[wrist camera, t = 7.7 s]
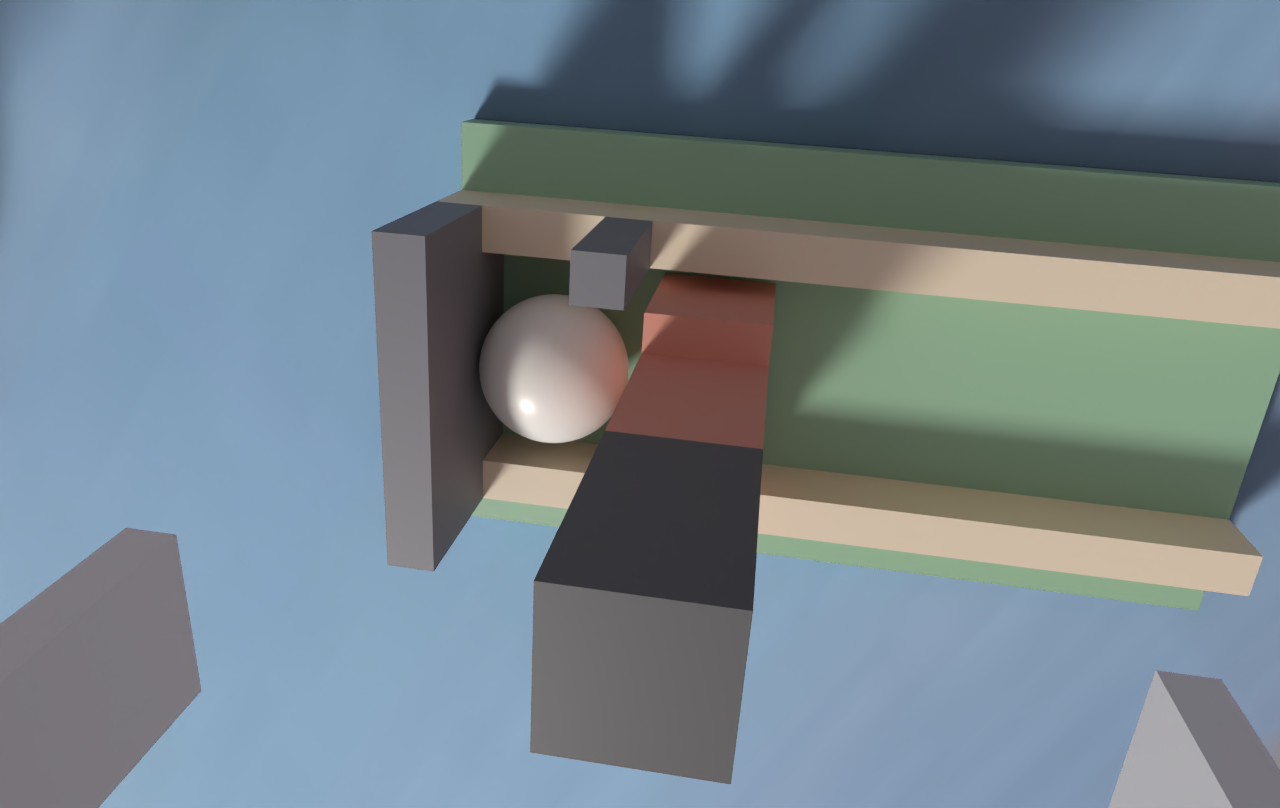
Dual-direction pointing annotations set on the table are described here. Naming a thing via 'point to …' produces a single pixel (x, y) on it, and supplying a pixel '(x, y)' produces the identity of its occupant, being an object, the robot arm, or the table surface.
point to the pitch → (868, 348)
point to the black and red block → (662, 547)
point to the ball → (553, 369)
